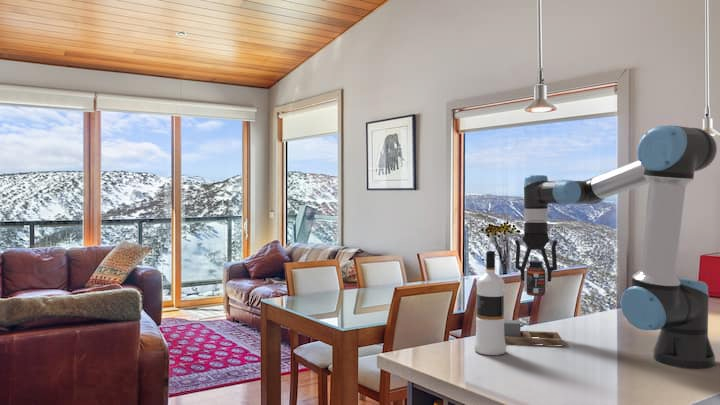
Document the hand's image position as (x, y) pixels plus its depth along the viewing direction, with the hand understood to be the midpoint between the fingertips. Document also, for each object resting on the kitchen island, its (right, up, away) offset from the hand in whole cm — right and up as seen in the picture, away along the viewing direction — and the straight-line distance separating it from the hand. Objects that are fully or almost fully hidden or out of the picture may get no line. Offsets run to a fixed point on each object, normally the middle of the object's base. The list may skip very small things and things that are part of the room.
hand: (535, 290), depth 193 cm
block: (-10, -15, -7) cm, 19 cm away
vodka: (-20, -15, -22) cm, 33 cm away
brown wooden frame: (-5, -15, -8) cm, 18 cm away
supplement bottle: (0, -2, 0) cm, 2 cm away
